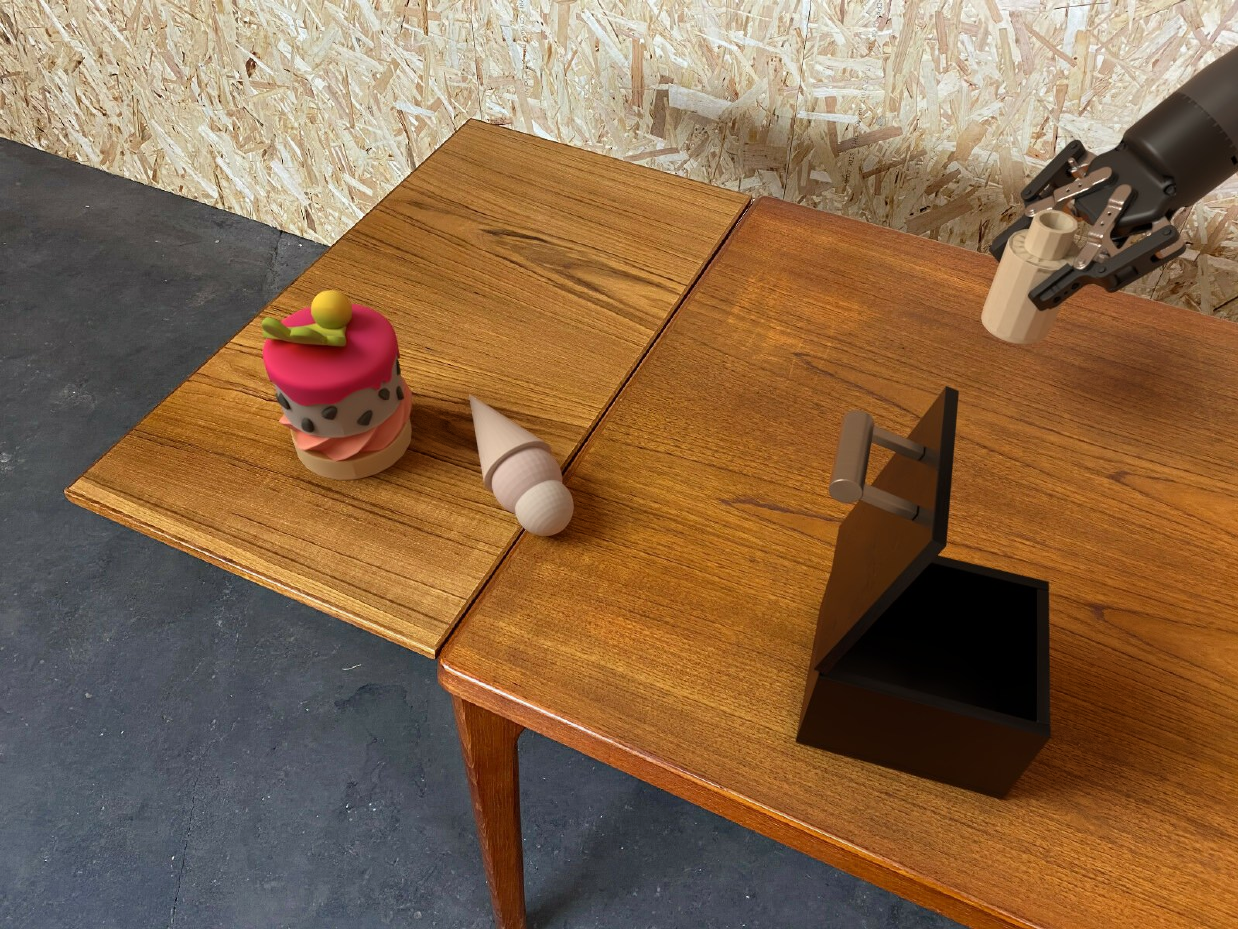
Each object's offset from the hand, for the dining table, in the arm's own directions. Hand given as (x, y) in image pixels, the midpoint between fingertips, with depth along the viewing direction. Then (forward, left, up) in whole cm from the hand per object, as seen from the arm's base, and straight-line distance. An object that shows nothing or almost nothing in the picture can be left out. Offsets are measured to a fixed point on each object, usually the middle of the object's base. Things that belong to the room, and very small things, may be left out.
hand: (1014, 279), depth 77 cm
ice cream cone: (+36, +22, -14) cm, 44 cm away
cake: (+51, +21, -14) cm, 57 cm away
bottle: (-2, -1, -5) cm, 5 cm away
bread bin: (+3, +32, -14) cm, 35 cm away
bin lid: (+7, +32, +3) cm, 33 cm away
